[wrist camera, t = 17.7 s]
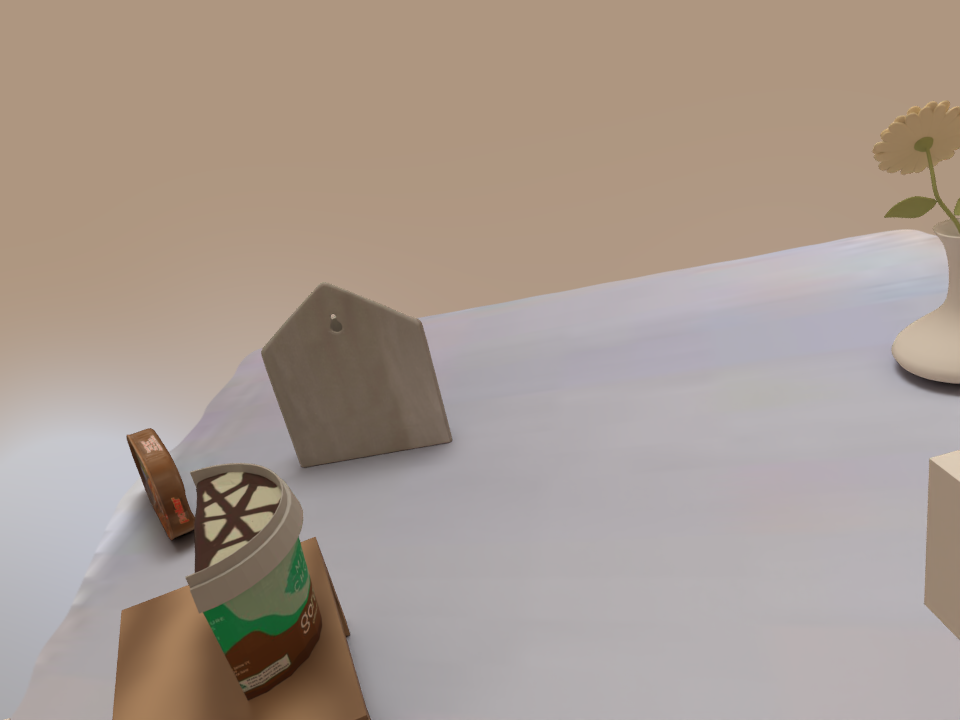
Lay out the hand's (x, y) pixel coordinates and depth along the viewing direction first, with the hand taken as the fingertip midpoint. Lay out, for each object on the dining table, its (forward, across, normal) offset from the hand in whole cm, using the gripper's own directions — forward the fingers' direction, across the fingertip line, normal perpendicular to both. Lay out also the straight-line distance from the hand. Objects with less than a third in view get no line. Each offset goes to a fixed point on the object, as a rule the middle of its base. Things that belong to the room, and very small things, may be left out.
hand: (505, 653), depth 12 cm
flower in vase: (+54, +48, -34) cm, 80 cm away
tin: (+65, -28, -34) cm, 79 cm away
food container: (+33, -12, -26) cm, 44 cm away
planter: (+70, -7, -34) cm, 78 cm away
